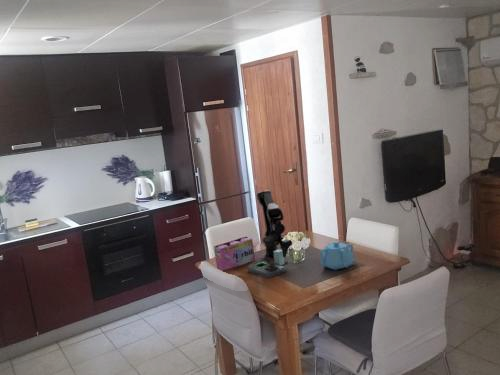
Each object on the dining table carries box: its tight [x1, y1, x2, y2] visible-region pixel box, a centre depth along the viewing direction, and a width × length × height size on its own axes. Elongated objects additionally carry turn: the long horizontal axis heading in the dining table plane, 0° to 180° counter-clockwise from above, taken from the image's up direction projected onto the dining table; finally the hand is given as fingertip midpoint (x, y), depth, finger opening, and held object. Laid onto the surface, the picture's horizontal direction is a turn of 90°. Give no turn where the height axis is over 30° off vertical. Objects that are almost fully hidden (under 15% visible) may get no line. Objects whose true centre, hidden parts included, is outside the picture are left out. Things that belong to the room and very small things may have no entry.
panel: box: [247, 260, 287, 279], centre depth 242 cm, size 12×18×3 cm, turn 40°
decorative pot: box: [319, 241, 355, 271], centre depth 236 cm, size 16×16×14 cm
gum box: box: [213, 236, 256, 272], centre depth 259 cm, size 24×8×14 cm, turn 124°
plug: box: [273, 248, 286, 266], centre depth 251 cm, size 4×4×8 cm
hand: (278, 255), depth 251 cm, fingers open, 9 cm apart
